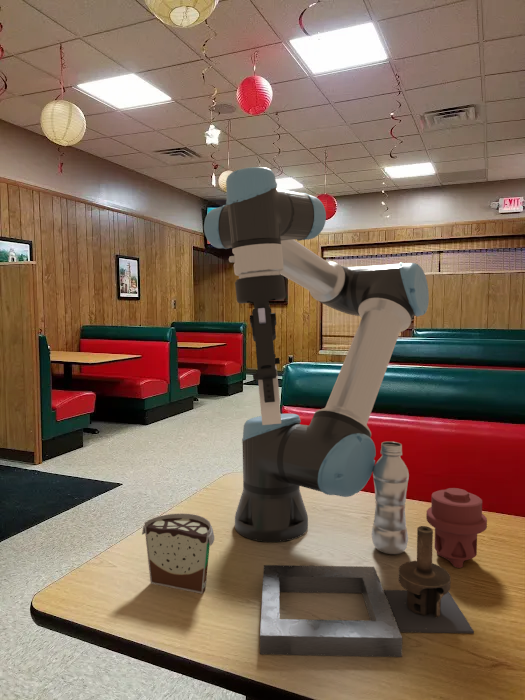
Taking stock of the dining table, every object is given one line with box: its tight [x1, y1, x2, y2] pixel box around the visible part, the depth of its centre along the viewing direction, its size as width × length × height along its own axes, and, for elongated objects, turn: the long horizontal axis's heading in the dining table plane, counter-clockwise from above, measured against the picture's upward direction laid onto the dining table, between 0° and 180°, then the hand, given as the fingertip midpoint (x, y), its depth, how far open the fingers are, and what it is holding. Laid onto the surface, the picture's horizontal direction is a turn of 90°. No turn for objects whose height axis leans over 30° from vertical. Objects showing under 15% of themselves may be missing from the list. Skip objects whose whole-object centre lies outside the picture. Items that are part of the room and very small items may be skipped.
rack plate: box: [259, 564, 403, 658], centre depth 71 cm, size 18×18×2 cm
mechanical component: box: [426, 487, 488, 569], centre depth 87 cm, size 12×10×10 cm
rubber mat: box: [383, 589, 475, 634], centre depth 72 cm, size 10×10×1 cm
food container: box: [141, 513, 215, 595], centre depth 81 cm, size 12×6×10 cm, turn 71°
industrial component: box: [398, 525, 451, 618], centre depth 71 cm, size 9×7×12 cm
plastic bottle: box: [371, 441, 410, 555], centre depth 90 cm, size 6×7×20 cm
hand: (271, 413), depth 76 cm, fingers open, 13 cm apart
